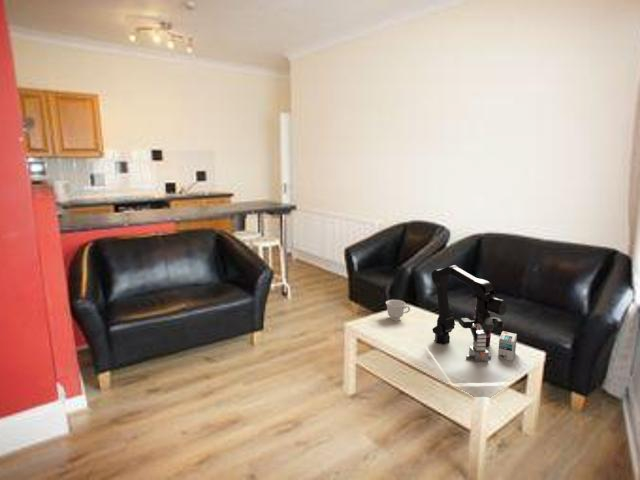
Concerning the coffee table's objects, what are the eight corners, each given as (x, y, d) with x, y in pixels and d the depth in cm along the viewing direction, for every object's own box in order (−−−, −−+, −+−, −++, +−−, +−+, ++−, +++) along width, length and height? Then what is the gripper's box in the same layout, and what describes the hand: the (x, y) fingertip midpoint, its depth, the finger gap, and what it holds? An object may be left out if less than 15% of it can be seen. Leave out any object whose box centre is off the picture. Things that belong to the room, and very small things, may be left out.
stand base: (470, 367, 181) (471, 355, 180) (460, 355, 193) (461, 343, 192) (496, 367, 182) (497, 354, 181) (484, 354, 193) (485, 343, 192)
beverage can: (492, 348, 199) (494, 320, 197) (479, 349, 199) (481, 321, 196) (485, 343, 206) (488, 315, 203) (473, 343, 205) (475, 316, 202)
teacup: (405, 325, 229) (406, 308, 227) (381, 319, 237) (382, 304, 235) (412, 318, 239) (413, 302, 237) (390, 313, 247) (390, 298, 245)
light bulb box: (512, 363, 185) (514, 341, 183) (497, 359, 188) (498, 338, 186) (515, 354, 194) (517, 333, 192) (500, 350, 197) (502, 330, 195)
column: (476, 353, 184) (477, 334, 182) (472, 349, 188) (474, 330, 187) (485, 353, 184) (486, 333, 183) (481, 349, 189) (482, 330, 187)
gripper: (469, 315, 174) (467, 348, 177) (511, 314, 175) (507, 347, 178) (459, 306, 185) (457, 337, 188) (498, 305, 186) (496, 336, 189)
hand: (479, 339), depth 185 cm, fingers closed on column, 4 cm apart
